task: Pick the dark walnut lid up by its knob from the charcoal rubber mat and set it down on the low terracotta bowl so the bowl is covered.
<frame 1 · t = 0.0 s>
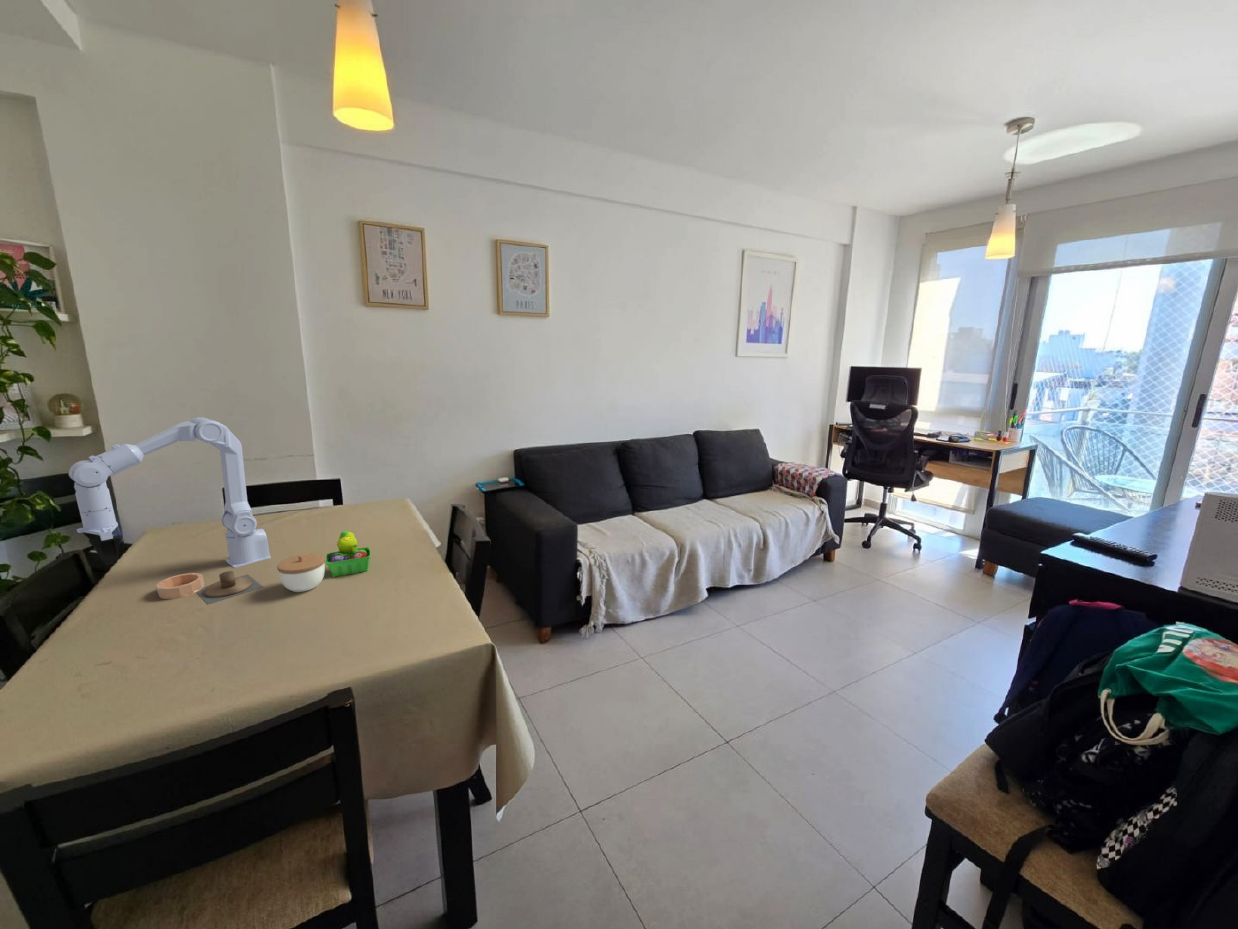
hand: (108, 559, 125), 10 cm above the table, fingers open, 7 cm apart
mat: (229, 589, 132), on the table
lid: (229, 588, 132), resting on mat
lidded jar: (304, 588, 134), on the table
bowl: (182, 591, 130), on the table
fruit basket: (350, 570, 145), on the table
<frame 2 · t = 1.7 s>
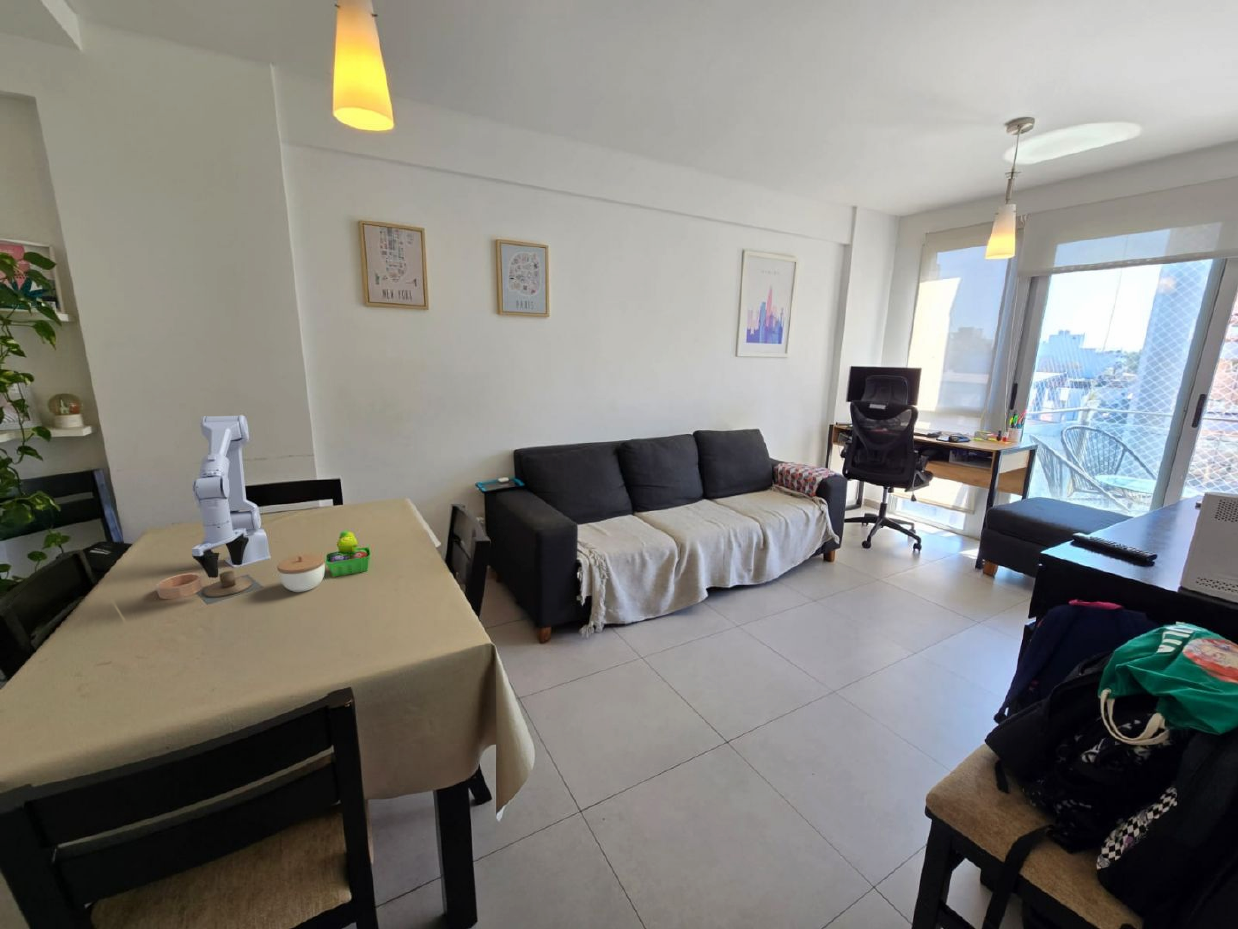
hand: (225, 570, 131), 6 cm above the table, fingers open, 7 cm apart
nothing on the table moved.
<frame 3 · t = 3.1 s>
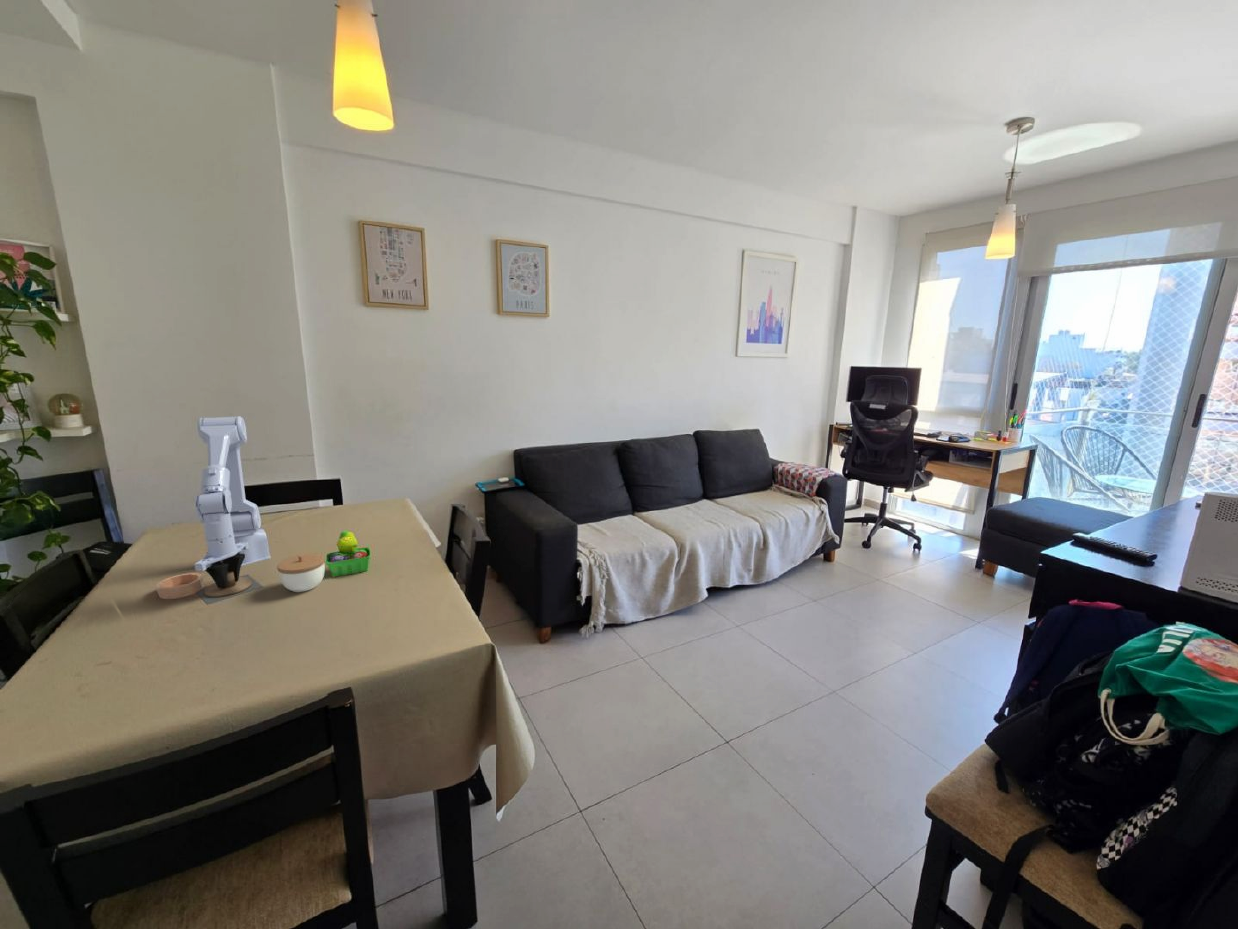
hand: (228, 584, 131), 2 cm above the table, fingers closed on lid, 3 cm apart
lid: (229, 588, 132), resting on mat, touching gripper
everything else where it was.
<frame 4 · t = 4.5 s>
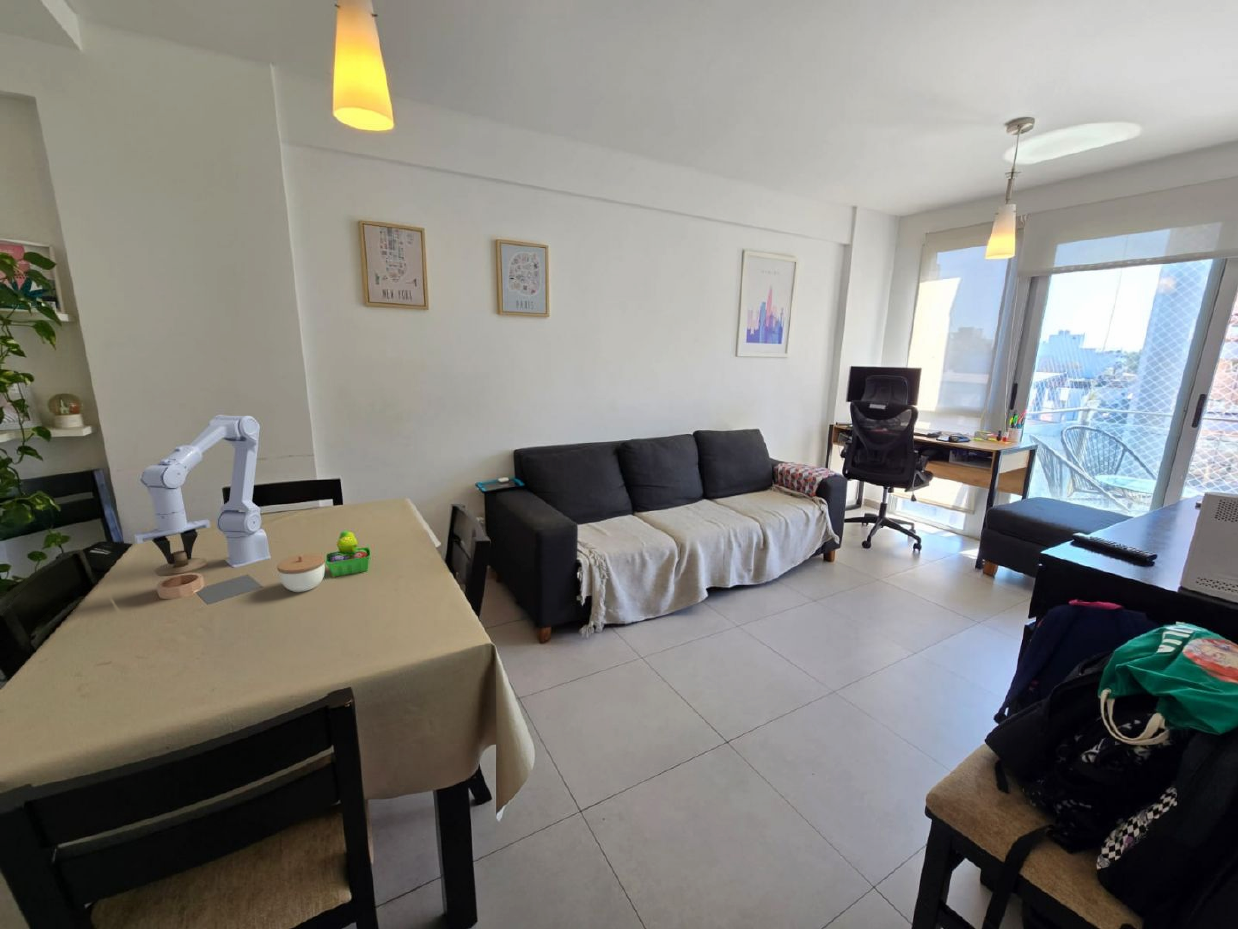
hand: (179, 560, 128), 9 cm above the table, fingers closed on lid, 3 cm apart
lid: (181, 568, 128), point 7 cm above the table, touching gripper
everything else where it was.
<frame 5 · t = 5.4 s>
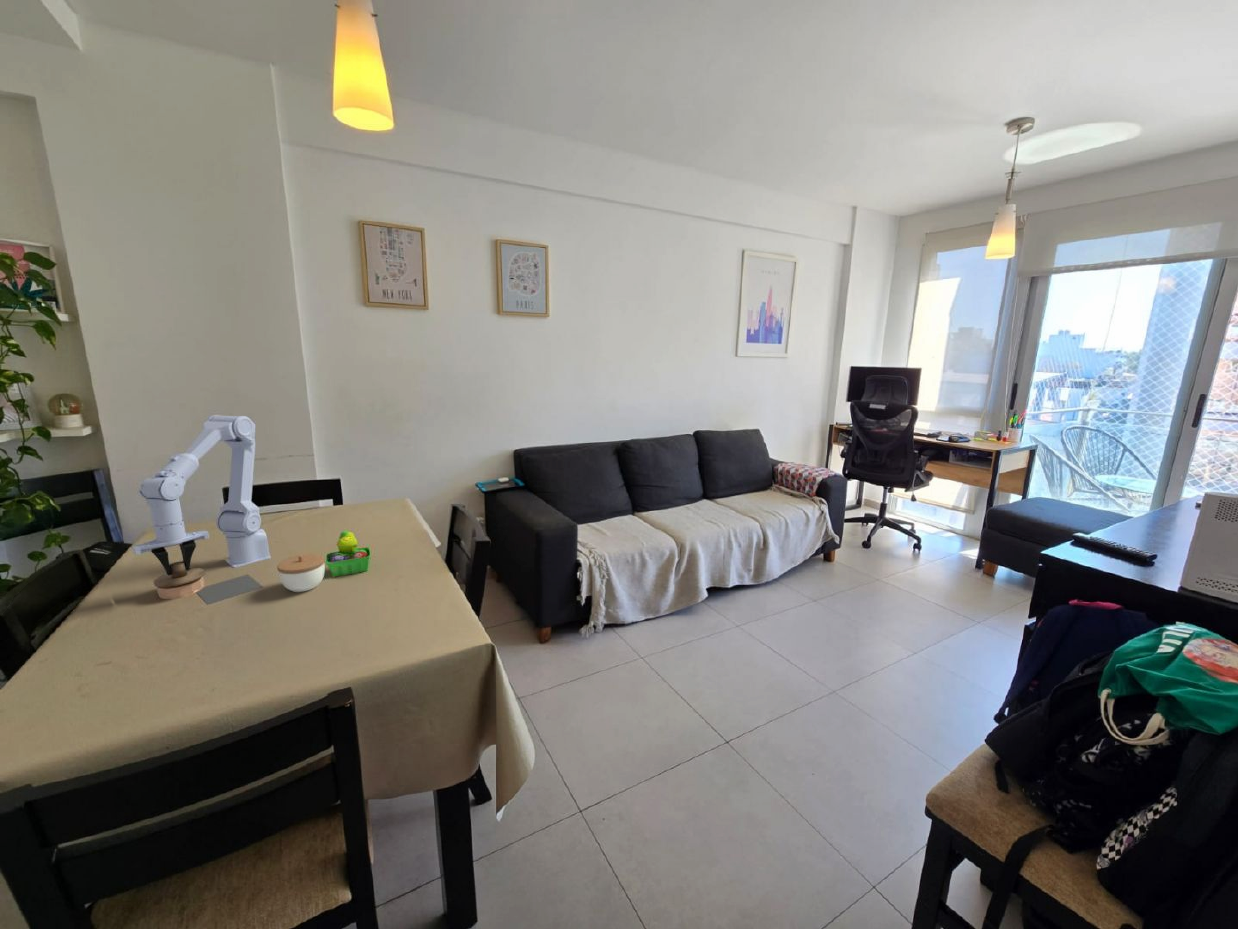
hand: (178, 571, 129), 6 cm above the table, fingers closed on lid, 3 cm apart
lid: (180, 579, 129), point 4 cm above the table, touching gripper
everything else where it was.
when the fingers open (6 cm above the table, at t = 5.8 s): lid stays where it is, resting on bowl.
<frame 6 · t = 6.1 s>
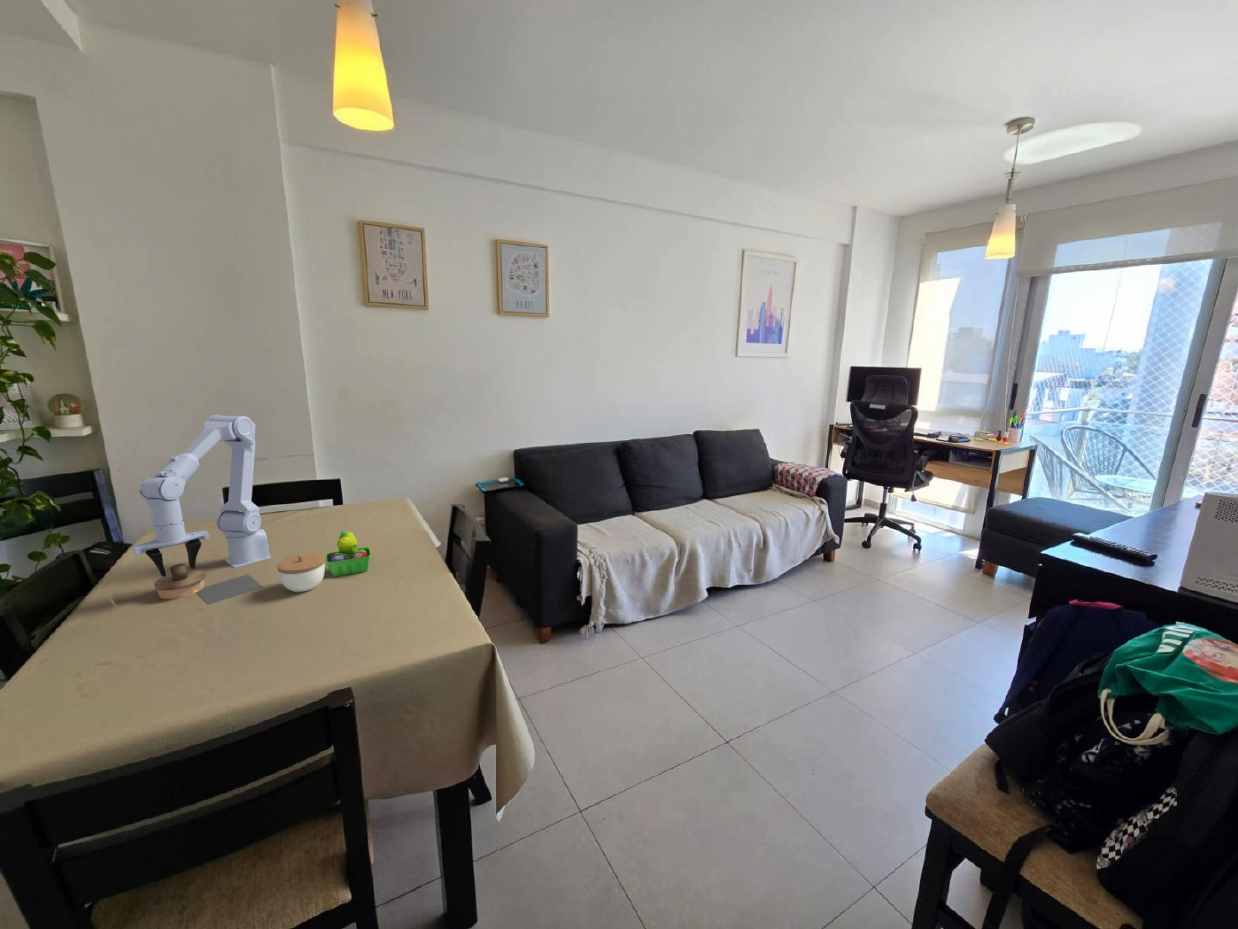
hand: (178, 571, 129), 6 cm above the table, fingers open, 5 cm apart
lid: (180, 581, 129), point 3 cm above the table, touching bowl
everything else where it was.
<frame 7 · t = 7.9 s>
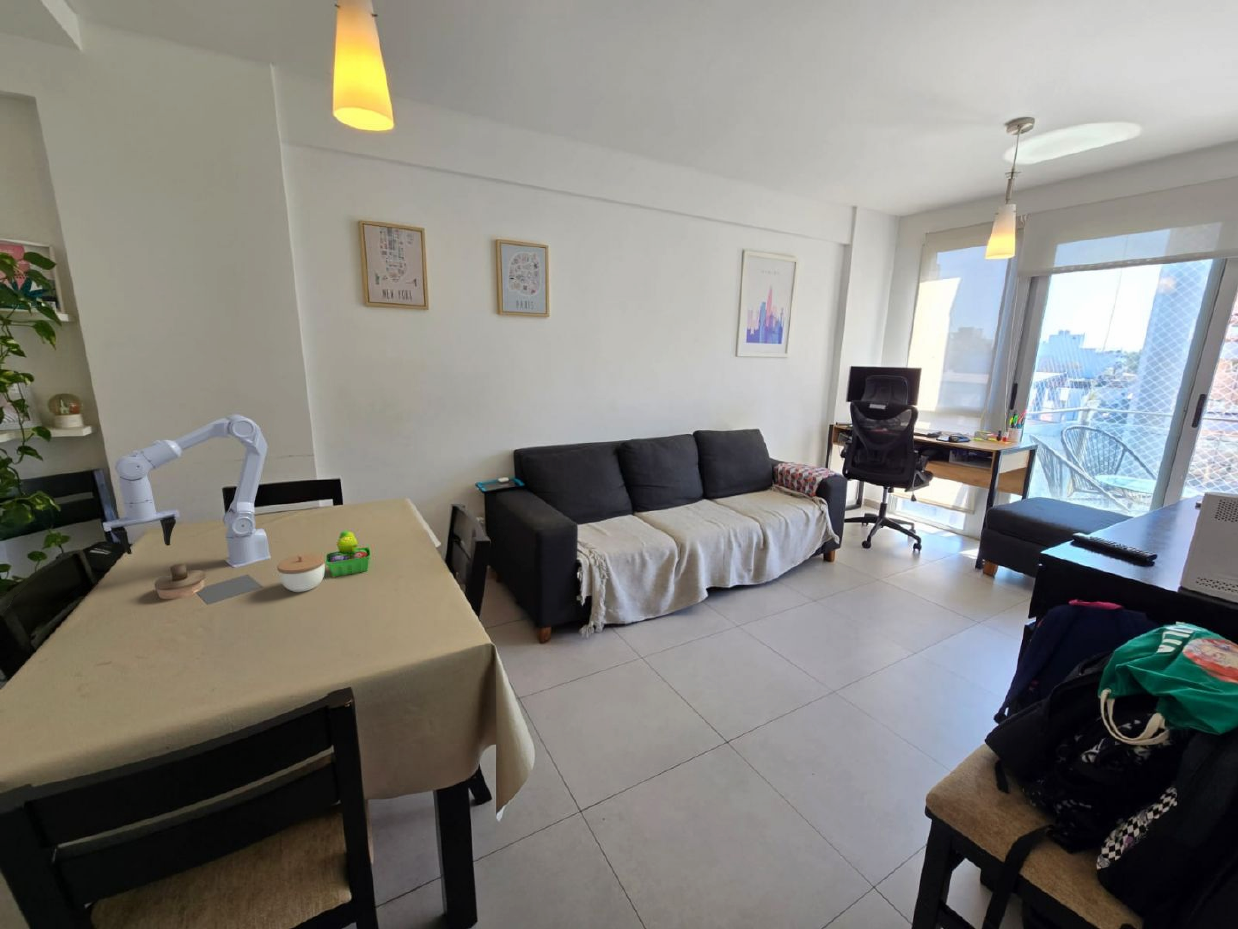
hand: (148, 548, 133), 10 cm above the table, fingers open, 7 cm apart
nothing on the table moved.
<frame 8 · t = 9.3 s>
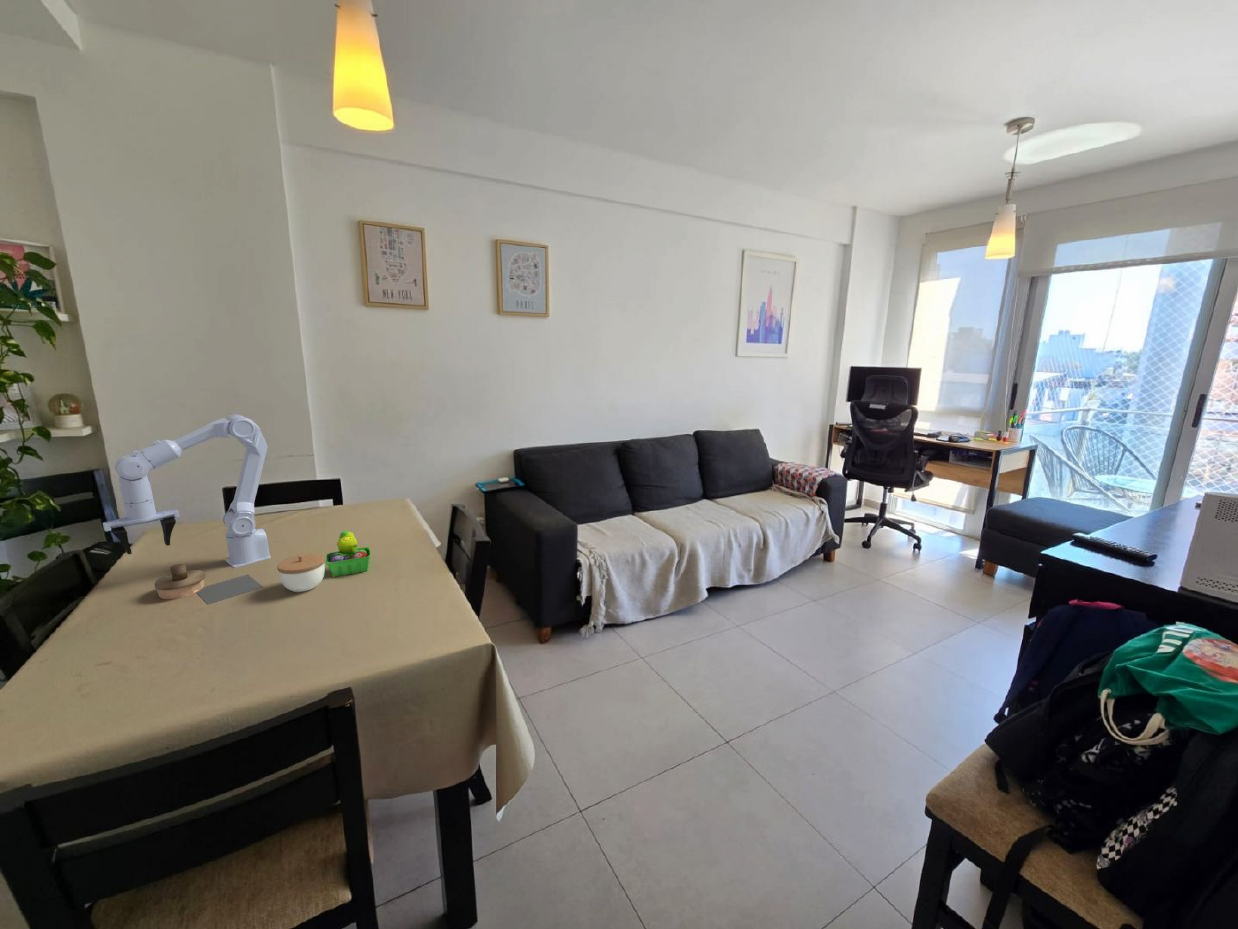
hand: (148, 548, 133), 10 cm above the table, fingers open, 7 cm apart
nothing on the table moved.
at the end: lid 0.6 cm off-centre on the bowl, point 3.2 cm above the bowl's base; lid tilted 0°; the gripper is holding nothing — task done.
